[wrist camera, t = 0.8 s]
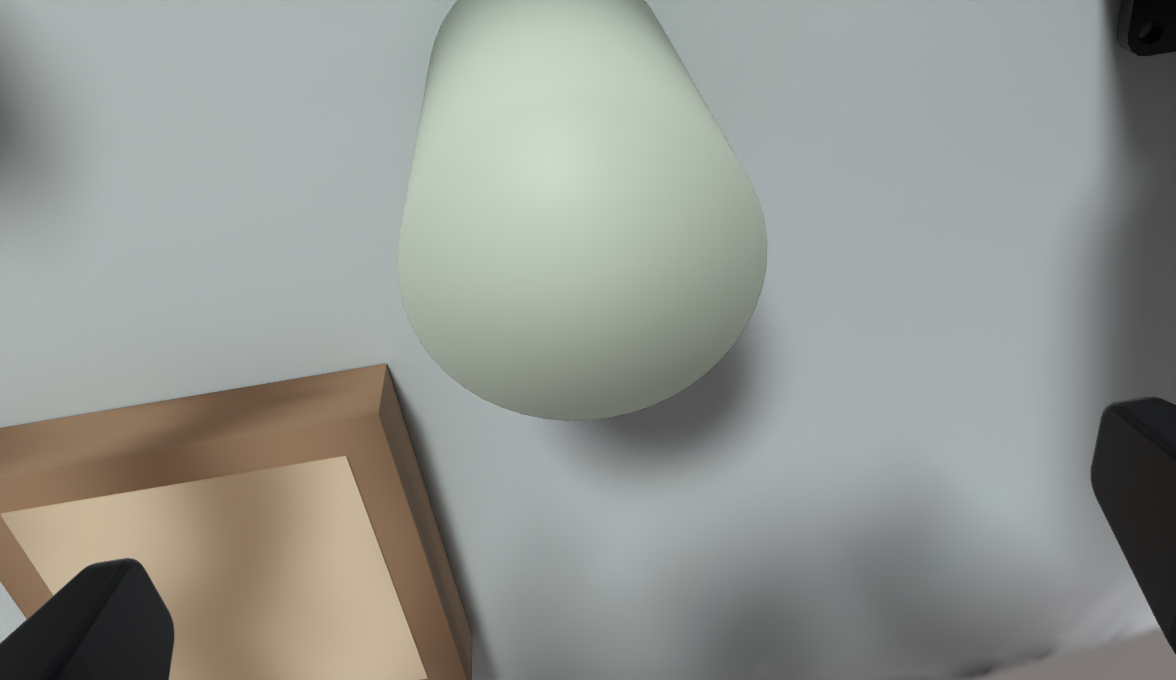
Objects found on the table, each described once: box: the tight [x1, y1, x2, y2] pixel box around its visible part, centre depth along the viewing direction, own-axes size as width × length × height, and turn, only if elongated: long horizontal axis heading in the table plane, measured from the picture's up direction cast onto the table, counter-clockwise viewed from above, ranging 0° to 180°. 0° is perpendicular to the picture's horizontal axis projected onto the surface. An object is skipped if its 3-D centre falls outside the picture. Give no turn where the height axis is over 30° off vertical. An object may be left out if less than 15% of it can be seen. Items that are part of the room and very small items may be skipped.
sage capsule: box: [397, 0, 767, 420], centre depth 16 cm, size 5×5×8 cm
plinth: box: [0, 364, 472, 680], centre depth 25 cm, size 10×10×2 cm
